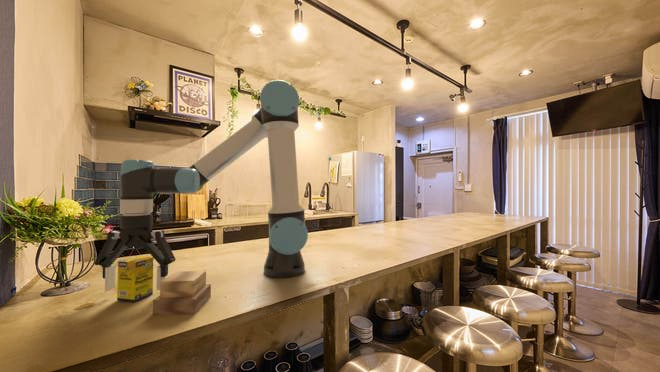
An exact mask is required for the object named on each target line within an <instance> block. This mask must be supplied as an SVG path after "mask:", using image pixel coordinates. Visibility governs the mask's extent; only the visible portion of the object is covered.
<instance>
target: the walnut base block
mask: <svg viewBox="0 0 660 372" xmlns="http://www.w3.org/2000/svg"><path fill="white" fill-rule="evenodd" d="M211 286H212V284H211V283H206V285H205V286H204V287H203V288H202V289H201V290H200V291H199V292H198V293H197V294H196V295H195V296H194V297H170V298H160V295H159V296H157V297H155V298H154V299H152V316H168V315H169V316H171V315H175V316H176V315H194V314H197V313H198V311H199V310H201V308H202V307H203V306H204V305H205V304H206V303H207V302H208V300H209V299H210V298H211V297H212V294H211V293H212V287H211Z"/></svg>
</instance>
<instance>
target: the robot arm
mask: <svg viewBox="0 0 660 372" xmlns="http://www.w3.org/2000/svg"><path fill="white" fill-rule="evenodd" d="M259 101H260V109H259V110H258V111H257V112H256V113H255V114H253V115H252V116H251V120H250V121H249V122H247V123H246V124H245V125H244V126H242V127H241V128H239V129H238V130H237V131H235V132H234V133H233V134H231V135H230V136H229V137H227V138H226V139H225V140H224V141H222V142H221V143H220V144H218V145H217V146H216V147H214V148H212V150H210V151H209V152H208V153H206V154H205V155H204V156H202V157H201V158H200V159H198V160H197V161H195V162H194V163H193V164H192V165H190V166H189V167H188V168H187V167H182V168H181V167H178V168H177V167H171V168H170V167H155V165H154V164H155V163H154V162H153V161H151V160H146V159H145V160H144V159H124V160H123V161H122V162H121V167H120V174H119V177H120V198H119V214H121V215H120V217H119V229H120V231H119V230H112V231H108V233H107V236H106V241H105V243H104V245H103V246H102V248H101V249H100V252H99V253H98V255H97V257H96V258H95V261H94V266H100V267H101V268H102V278H103V279H104V292H109V291H112V290H114V289H115V288H116V267H117V266H116V264H115V263H114V262H115V261H116V260H117V259H119V257H120V256H121V255H122V254H123V253H124V252H125V250H126V249H127V248H130V249H132V248H143V249H144V250H146V252H148V254H150V257H153V260H155V262H157V264H158V266H157V267H156V291H160V282H161V281H162V280H164V279H165V278H167V277H168V274H169V265H170V264H172V263H174V262H175V261H176V257H175V255H174V253H173V251H172V249H171V247H170V245H169V244H168V243H169V242H167V239H166V237H165V231H164V229H163V230H162V229H161V230H157V231H153V225H154V219H153V218H154V216H153V214H152V213H153V212H154V194H181V195H187V194H196V193H197V192H199V191H201V190H202V189H203V187H204V186H205V185H206V184H207V183H208V182H209V181H211V179H213V178H214V177H216V176H217V175H218V174H220V173H221V172H223V170H225V169H227V167H229V166H230V165H232V164H233V163H234V162H235V161H236V160H238V159H240V157H241V156H243V155H244V154H246V153H247V152H248V151H250V150H251V149H252V148H254V147H255V146H256V145H257V144H258V143H260V142H261V141H263V140H264V139H267V142H268V143H267V144H268V159H269V173H270V175H269V177H270V190H271V191H270V192H271V208H270V209H269V210H268V212H267V217H268V253H267V256H266V259H265V262H264V264H263V274H264V275H265V276H267V277H271V278H278V279H279V278H281V279H282V278H284V279H285V278H292V277H296V276H299V275H300V276H301V275H302V274H303V273H304V272H305V261H304V258H303V255H302V253H301V250H302V249H303V248H304V246H306V244H307V241H308V239H309V237H308V236H309V233H308V231H309V230H308V227H307V225H306V220H305V217H306V216H305V208H303V207H302V206H301V204H300V200H299V199H300V197H299V184H298V183H299V182H298V181H299V180H298V169H297V166H298V165H297V153H296V152H297V151H296V139H295V138H296V136H295V135H296V134H295V131H297V130H298V128H299V126H300V125H299V111H298V110H299V105H300V96H299V93H298V91H297V89H296V88H295V86H293V85H292V83H290V82H288V81H285V80H282V79H275V80H271V81H268V82H267V83H266V84H265V85H264V86H263V87H262V88H261V92H260V95H259ZM119 238H120V240H121V241H120V242H119V243H118V245H116V244H117V241H118V239H119ZM152 238H153V239H154V240H155V242H156V243H155V242H154V240H153V239H152ZM155 244H157V246H158V247H157V246H156V245H155ZM115 245H116V248H115V249H114V247H115ZM113 249H114V250H113Z"/></svg>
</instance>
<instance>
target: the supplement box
mask: <svg viewBox="0 0 660 372" xmlns="http://www.w3.org/2000/svg"><path fill="white" fill-rule="evenodd" d="M116 285H117V286H116V287H117V289H116V290H117V292H116V298H117V299H116V301H118V302H119V301H122V302H128V303H136V302H138V301H140V300H142V299H144V298H147V297H149V296H151V295H153V294H154V258H153V257H152V256H142V255H137V256H132V257H130V258H126V259H121V260H118V261H117V284H116Z"/></svg>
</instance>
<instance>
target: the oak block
mask: <svg viewBox="0 0 660 372" xmlns="http://www.w3.org/2000/svg"><path fill="white" fill-rule="evenodd" d="M206 284H207V270H188V271H186V270H184V271H183V270H181V271H178V270H177V271H175V272H173V273H172V274H170V275H169V276H166V277H165V279H164V280H162V281H161V282H160V290H159V296H160V298H170V297H194V296H195V295H196V294H197V293H198V292H199V291H200V290H201V289H202V288H203V287H204V286H205V285H206Z"/></svg>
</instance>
